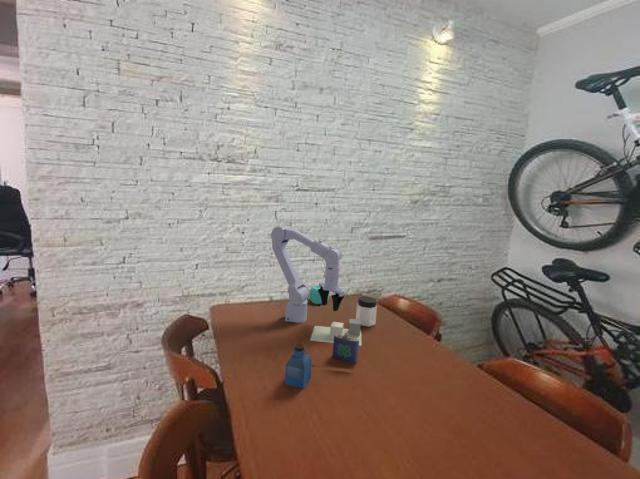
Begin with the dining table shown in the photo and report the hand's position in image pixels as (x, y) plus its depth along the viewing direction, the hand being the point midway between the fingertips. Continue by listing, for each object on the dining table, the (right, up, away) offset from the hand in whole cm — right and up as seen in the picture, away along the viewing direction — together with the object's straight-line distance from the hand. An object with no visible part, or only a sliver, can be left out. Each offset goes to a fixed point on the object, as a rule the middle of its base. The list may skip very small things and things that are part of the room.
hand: (329, 307), depth 142 cm
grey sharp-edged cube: (+10, -10, -4) cm, 14 cm away
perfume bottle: (-11, -15, -38) cm, 43 cm away
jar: (+16, -9, +8) cm, 20 cm away
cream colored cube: (+2, -10, -8) cm, 13 cm away
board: (+3, -11, -7) cm, 13 cm away
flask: (+4, -14, -25) cm, 29 cm away
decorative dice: (-5, -4, +34) cm, 34 cm away
